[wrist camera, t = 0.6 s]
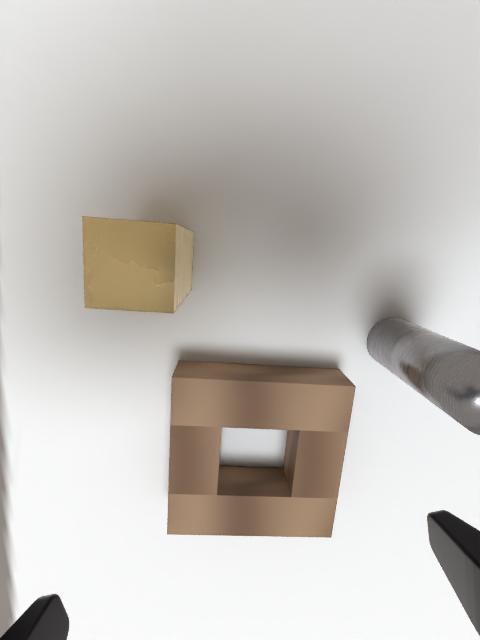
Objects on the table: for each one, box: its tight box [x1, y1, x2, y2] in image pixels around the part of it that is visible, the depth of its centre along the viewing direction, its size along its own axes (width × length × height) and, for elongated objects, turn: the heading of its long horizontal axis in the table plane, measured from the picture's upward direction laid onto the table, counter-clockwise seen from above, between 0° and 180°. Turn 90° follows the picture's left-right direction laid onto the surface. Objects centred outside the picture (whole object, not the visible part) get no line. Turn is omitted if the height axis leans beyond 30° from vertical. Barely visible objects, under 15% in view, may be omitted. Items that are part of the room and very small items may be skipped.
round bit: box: [367, 318, 480, 435], centre depth 16 cm, size 3×3×8 cm
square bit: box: [82, 216, 194, 313], centre depth 15 cm, size 3×3×7 cm
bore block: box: [167, 361, 356, 537], centre depth 20 cm, size 10×10×3 cm
